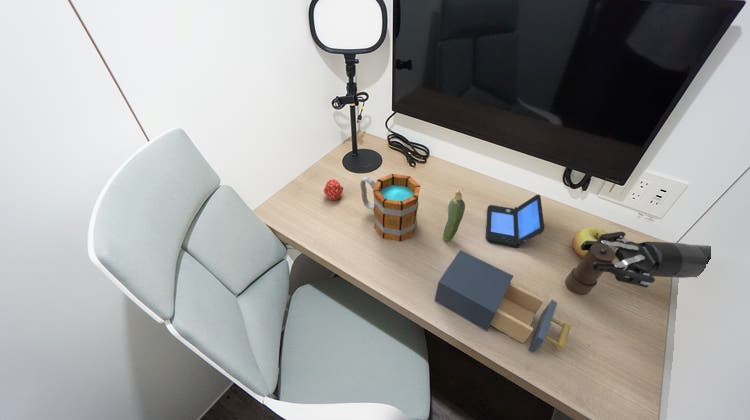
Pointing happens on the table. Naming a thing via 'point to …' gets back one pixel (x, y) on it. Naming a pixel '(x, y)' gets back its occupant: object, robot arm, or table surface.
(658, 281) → the table surface
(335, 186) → the red bumpy fruit
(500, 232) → the game console
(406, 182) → the mug
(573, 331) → the table surface
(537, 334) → the drawer
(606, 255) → the pepper mill
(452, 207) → the vegetable
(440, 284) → the cabinet
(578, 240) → the apple
